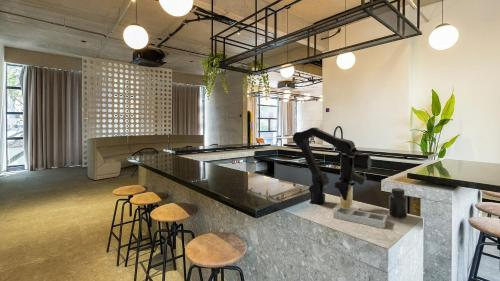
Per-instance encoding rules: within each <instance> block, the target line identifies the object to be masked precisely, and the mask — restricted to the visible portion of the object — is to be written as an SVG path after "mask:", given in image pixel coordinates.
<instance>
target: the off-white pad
mask: <svg viewBox="0 0 500 281" xmlns="http://www.w3.org/2000/svg"><path fill="white" fill-rule="evenodd" d="M338 207H340V203H337V205H335V206H334V207H333V208H332V210H333V211H335V210H336V209H337V208H338ZM344 208H346V207H344ZM349 209H354V210H360V207H359V206H355V205H352V207H351V208H349Z"/></svg>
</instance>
